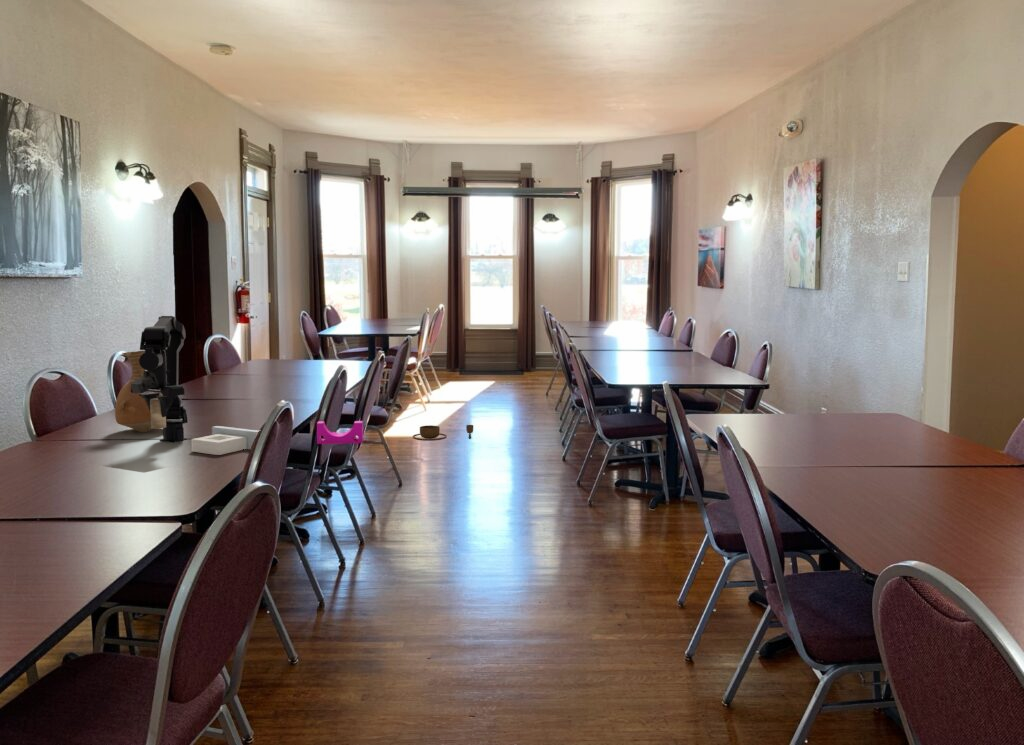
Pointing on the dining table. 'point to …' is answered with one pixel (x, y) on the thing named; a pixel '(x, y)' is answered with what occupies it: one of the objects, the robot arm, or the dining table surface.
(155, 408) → the dowel
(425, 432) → the place setting
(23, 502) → the dining table surface
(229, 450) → the socket block
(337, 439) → the toy block
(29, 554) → the dining table surface
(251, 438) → the board
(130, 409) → the jug
